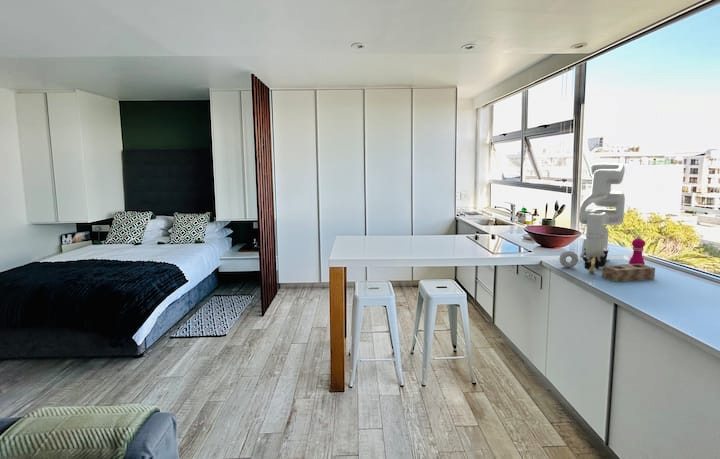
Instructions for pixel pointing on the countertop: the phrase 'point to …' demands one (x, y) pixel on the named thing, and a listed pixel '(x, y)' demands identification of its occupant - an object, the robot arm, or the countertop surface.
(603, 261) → the dixie cup
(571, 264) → the donut
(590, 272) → the brass peg
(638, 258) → the pepper mill
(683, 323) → the countertop surface
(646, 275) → the hole block
